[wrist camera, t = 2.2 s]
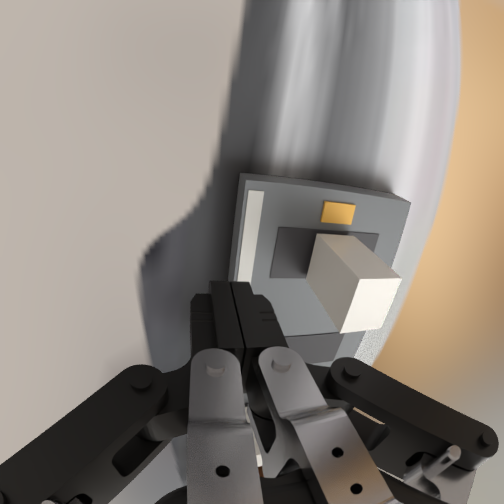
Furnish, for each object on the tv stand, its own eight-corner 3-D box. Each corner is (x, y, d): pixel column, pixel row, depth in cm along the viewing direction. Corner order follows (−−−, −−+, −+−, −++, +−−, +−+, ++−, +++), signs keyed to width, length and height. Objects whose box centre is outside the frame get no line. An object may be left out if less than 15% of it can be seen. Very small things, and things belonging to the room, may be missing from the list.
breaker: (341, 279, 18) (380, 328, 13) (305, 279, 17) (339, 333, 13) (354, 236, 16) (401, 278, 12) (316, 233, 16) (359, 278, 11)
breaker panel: (314, 406, 29) (320, 421, 27) (215, 416, 26) (218, 433, 24) (393, 193, 18) (412, 203, 16) (240, 172, 16) (246, 180, 14)
